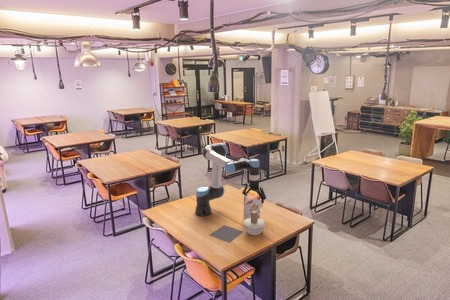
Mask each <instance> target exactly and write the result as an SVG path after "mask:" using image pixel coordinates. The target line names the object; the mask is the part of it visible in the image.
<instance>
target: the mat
mask: <svg viewBox="0 0 450 300" xmlns="http://www.w3.org/2000/svg"><path fill="white" fill-rule="evenodd" d="M244 232H245V230H244V231H243V230H241V229H238V228H234V227H231V226H228V225H225V224H223V225H222V226H220V227H219V228H217V229H215V230H214V231H212V233H210V234H209V236H210V237H212V238H216V239H218V240H221V241H223V242H227V243H231V242H233V241H234V240H235V239H237V238H238V237H239V236H241V235H242V234H243V233H244Z"/></svg>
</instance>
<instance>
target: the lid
mask: <svg viewBox="0 0 450 300" xmlns="http://www.w3.org/2000/svg"><path fill="white" fill-rule="evenodd" d="M242 224H243V225H244V228H245V227H247V228H251V229H259V228H262V227H264V228H265V226H266V221H265V220H264V218H263V219H262V218H261V217H260V218H258V212H257V211H254V210H253V211H252V212H251V218H247V219H245V220H244V219H243V223H242Z"/></svg>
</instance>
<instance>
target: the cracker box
mask: <svg viewBox="0 0 450 300" xmlns="http://www.w3.org/2000/svg"><path fill="white" fill-rule="evenodd" d="M260 200H261V198H260V197H259V195H258V194H254V195H251V196H248V202H247V203H245V198H244V197H243V221H244V220H245V219H247V218H251V212H252V211H253V210H254V211H257V212H258V218H260V219H261V208H260Z"/></svg>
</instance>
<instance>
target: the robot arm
mask: <svg viewBox="0 0 450 300" xmlns="http://www.w3.org/2000/svg"><path fill="white" fill-rule="evenodd" d="M226 145H227V144H225V143H224V142H218V143H217V142H216V143H212V144H207V145H206V146H204V147H203V149H202V153H201V154H202V156H203V158H204V159H205V160H207V161H211V162H212V169H211V182H210V183H209V187H208V186H200V187H198V188H197V189H196V191H195V192H196V193H195V196H196V206H195V210H194V213H195V215H196V216H199V217H206V216H210V215H211V214H212V213H213V212H212V210H213V209H212V207H211V205H210V204H211V203H210V201H212V200H216V199H220V198H222V197H223V196H224V195H225V189H224V188H225V187H224V186H223V184H222V171H223V168H224V170H225V172H226V173H227V174H230V173H231V174H232V173H235V172H238V171H245V170H247V171H249V172H248V173H249V174H248V176H249V177H248V178H249V180H248V181H249V182H247V183H245V187H244V189H243V190H242V195H243V196H244V197H243V199H244V198H245V203H247V202H248V197H249V195H248V194H249V193H250V192H251V191H252V192H255V193H257V195H258V196H259V197H260V209H261V208H262V207H264V202H265V200H266V199H267V196H266V194H265V191H264V187H263V186H260V160H259V159H258V158H251V159H248V158H244V157H242V158H241V157H240V159H238V160H235V161H233V160H231V159H229V158H227V157H225V156H227V155H228V146H226Z"/></svg>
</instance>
